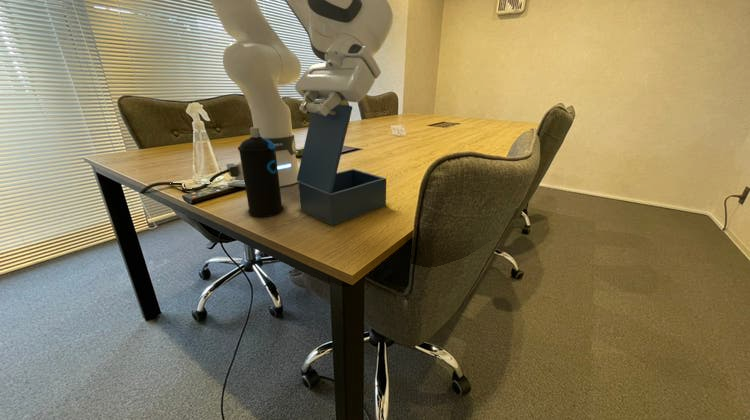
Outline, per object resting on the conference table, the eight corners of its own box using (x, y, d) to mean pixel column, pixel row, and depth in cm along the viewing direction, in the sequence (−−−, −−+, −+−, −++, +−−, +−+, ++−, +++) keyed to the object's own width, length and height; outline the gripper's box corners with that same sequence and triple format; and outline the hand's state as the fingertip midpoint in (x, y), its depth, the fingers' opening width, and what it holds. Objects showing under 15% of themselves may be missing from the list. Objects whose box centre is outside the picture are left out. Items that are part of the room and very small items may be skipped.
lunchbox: (353, 193, 87) (353, 168, 84) (385, 205, 79) (386, 178, 76) (300, 210, 75) (298, 182, 72) (332, 226, 67) (330, 195, 64)
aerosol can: (246, 219, 70) (231, 131, 62) (249, 206, 77) (236, 125, 70) (283, 215, 72) (273, 129, 65) (283, 203, 80) (274, 124, 72)
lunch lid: (316, 103, 70) (298, 96, 66) (352, 106, 62) (334, 98, 58) (299, 180, 73) (280, 177, 69) (331, 193, 64) (312, 190, 61)
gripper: (308, 52, 70) (275, 99, 67) (371, 46, 56) (332, 104, 54) (325, 73, 74) (295, 118, 72) (387, 72, 61) (352, 127, 59)
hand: (311, 112), depth 63 cm, fingers closed on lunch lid, 5 cm apart
